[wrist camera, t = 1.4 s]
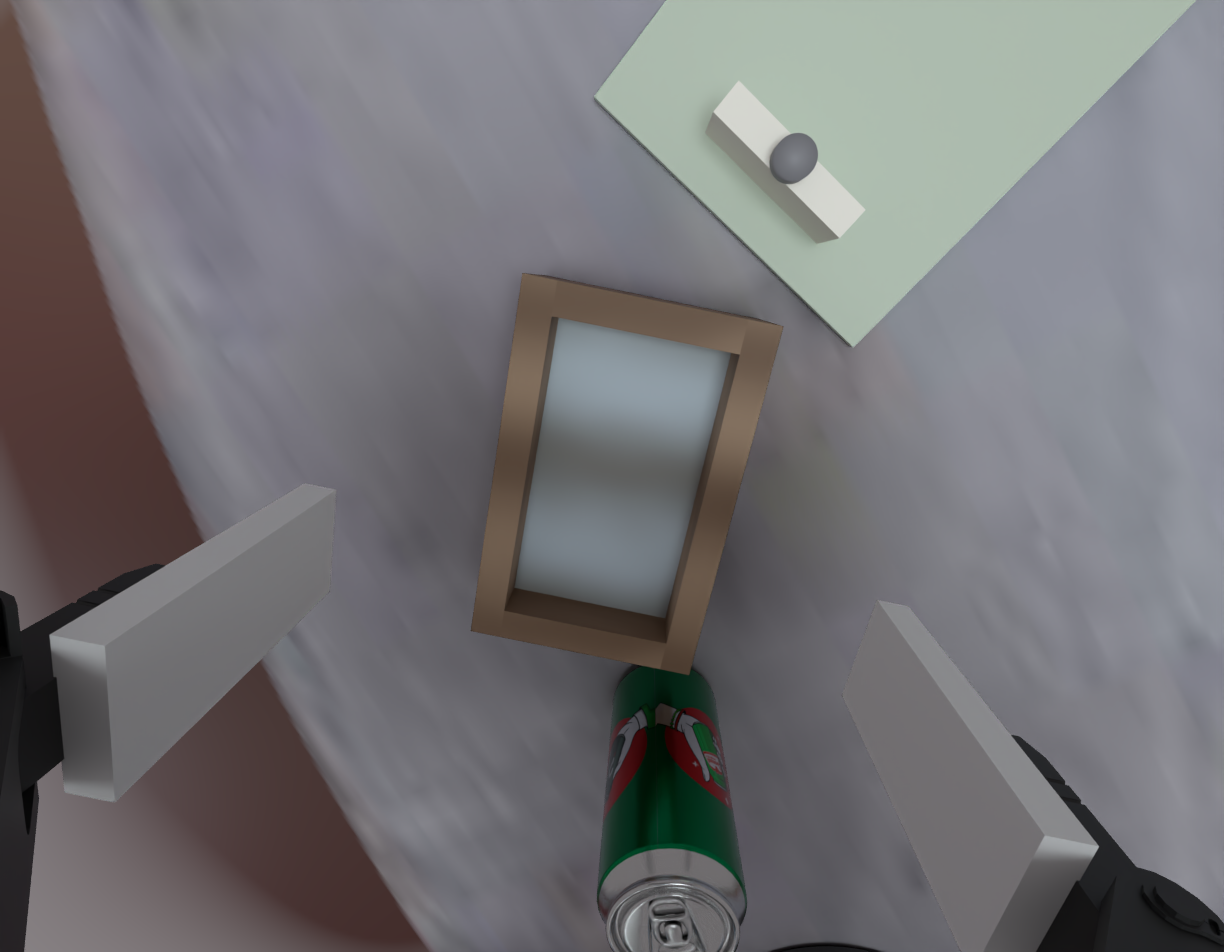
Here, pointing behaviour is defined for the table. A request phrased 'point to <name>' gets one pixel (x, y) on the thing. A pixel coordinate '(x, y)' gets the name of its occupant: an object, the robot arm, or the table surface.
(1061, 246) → the table surface
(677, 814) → the soda can
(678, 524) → the brown wooden open box
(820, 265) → the wall board
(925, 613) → the table surface
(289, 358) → the table surface
